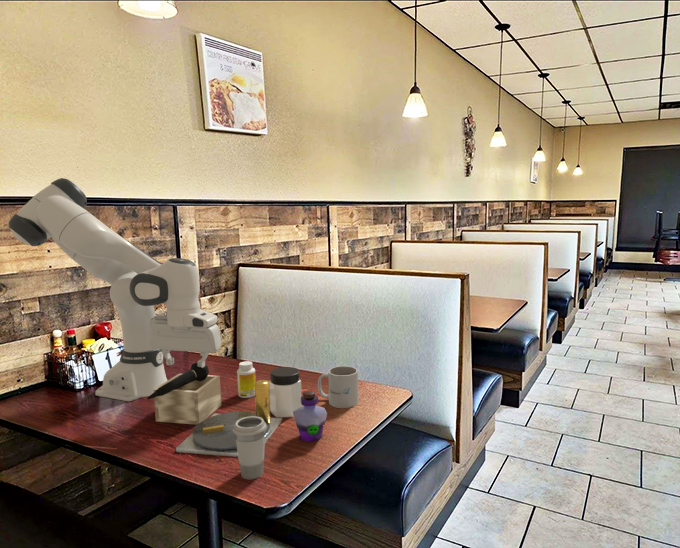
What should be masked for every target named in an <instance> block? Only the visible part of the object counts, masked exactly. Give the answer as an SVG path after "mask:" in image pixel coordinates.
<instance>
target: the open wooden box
mask: <svg viewBox="0 0 680 548" xmlns="http://www.w3.org/2000/svg"><path fill="white" fill-rule="evenodd" d="M182 374H183V373H177V374H176V375H174V376H173V377H171V378H169V379H167V381H166V382H165V383H163V384H162V385H160V386H158V387H157V388H155V389H154V392H156V390H157V389H158V388H160V387H161V386H163V385H165V384H166V383H168V382H170V381H171V380H173V379H175V378H176V377H178V376H180V375H182ZM221 389H222V388H221V376H220V375H216V374H215V375H211V374H208V376H207V377H206V379H205V380H203V381H200V382H199V381H196V380H195V381H193V382H191V383H189V384H186V385H184V386H182V387H180V388H178V389H176V390H172V391H171V392H169V393H167V394H165V395H162V396H157V397H155V398H153V401H154V413H155V422H160V423H173V424H174V423H175V424H183V425H184V424H188V425H195V426H197V425H198V424H199V423H200V422H202V421H203V420H205V419H207V418H210V417H211V416H212V415H213V414H214V413H215V412H216V411H217V410H218V409H219V408H221V406H222V390H221Z"/></svg>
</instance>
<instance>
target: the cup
mask: <svg viewBox="0 0 680 548" xmlns="http://www.w3.org/2000/svg"><path fill="white" fill-rule="evenodd" d="M266 427H267V425H266V423H265V422H264V420H263V419H262V418H261V417H257V416H249V417H244V418H241V419H239V420H238V421H236V423H235V426H234V428H233V432H234V433H235V434H236V445H237V453H238V457H237V458H238V463H239V467H240V475H241V478H243V479H245V480H255V479H258V478H260V477H262V475H264V461H265V445H266V443H265V433H264V430H265V429H266Z"/></svg>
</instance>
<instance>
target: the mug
mask: <svg viewBox="0 0 680 548" xmlns="http://www.w3.org/2000/svg"><path fill="white" fill-rule="evenodd" d="M323 378H327V379H328V394H327V393H325V392H324V391H323V388H322V380H323ZM317 391H318V393H319V394H320V396H321V397H323V398H324V399H328V404H329V405H330V406H331V407H334V408H339V409H347V408H352V407H355V406H357V405H358V404H359V370H358V368H356V367H354V366H349V365H339V366H338V365H337V366H334V367H331V368H329V369H328V371H327V373H322V374H321V375H319V378H318V380H317Z"/></svg>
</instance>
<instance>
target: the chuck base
mask: <svg viewBox="0 0 680 548" xmlns="http://www.w3.org/2000/svg"><path fill="white" fill-rule="evenodd" d="M219 414H220V413H216V412H213V413H212V414H211V415H210V417H212V416H215V415H219ZM270 421H271V422H270V431H269V433H268V434H267V435H266V436H265V444H266V443H267V442H268V440H269V438H270V437H271V436H272V435H273V433H274V432H275V431H276V429H277V428H278V427H279V426H280V424H281V423H282V421H283V417H270ZM175 449H176V450H175V452H176V453H184V454H197V455H198V454H199V455H210V456H222V457H223V456H224V457H225V456H226V457H235V458H238V453H237V449H229V450H214V449H208V448H204V447H201V446H199V445H198V444H196V443H195V442H194V440H193V432H192V433H191V434H189V436H188V437H186V438H185V440H183V441H182V442H181V443H180V444H179V445H177V447H175Z"/></svg>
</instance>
